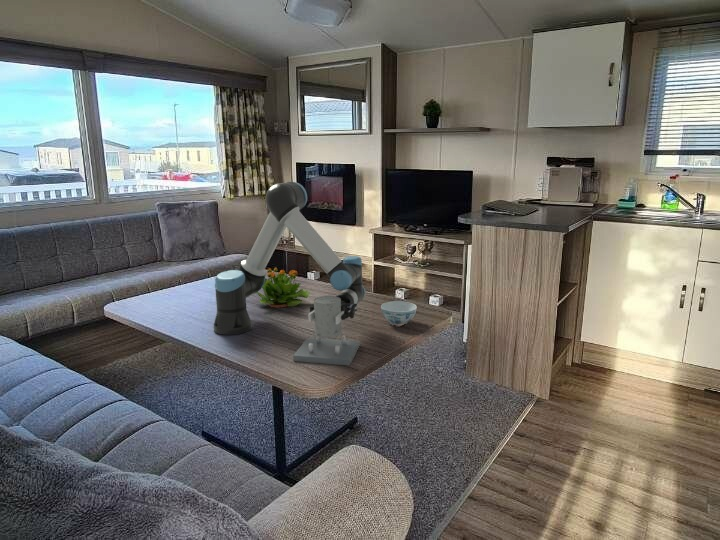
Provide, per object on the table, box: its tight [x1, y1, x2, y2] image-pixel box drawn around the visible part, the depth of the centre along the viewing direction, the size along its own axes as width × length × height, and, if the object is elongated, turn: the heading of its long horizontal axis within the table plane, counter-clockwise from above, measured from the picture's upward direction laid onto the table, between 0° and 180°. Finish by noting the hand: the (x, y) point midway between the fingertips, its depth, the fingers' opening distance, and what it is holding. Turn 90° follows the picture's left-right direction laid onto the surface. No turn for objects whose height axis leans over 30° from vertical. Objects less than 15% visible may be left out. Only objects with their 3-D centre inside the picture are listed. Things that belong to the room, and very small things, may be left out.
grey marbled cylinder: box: [313, 295, 342, 339], centre depth 175 cm, size 10×10×12 cm
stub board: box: [292, 335, 361, 366], centre depth 178 cm, size 20×18×5 cm
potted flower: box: [256, 267, 311, 309], centre depth 234 cm, size 25×24×18 cm
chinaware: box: [380, 300, 418, 325], centre depth 209 cm, size 15×15×8 cm
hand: (322, 319), depth 171 cm, fingers closed on grey marbled cylinder, 9 cm apart
